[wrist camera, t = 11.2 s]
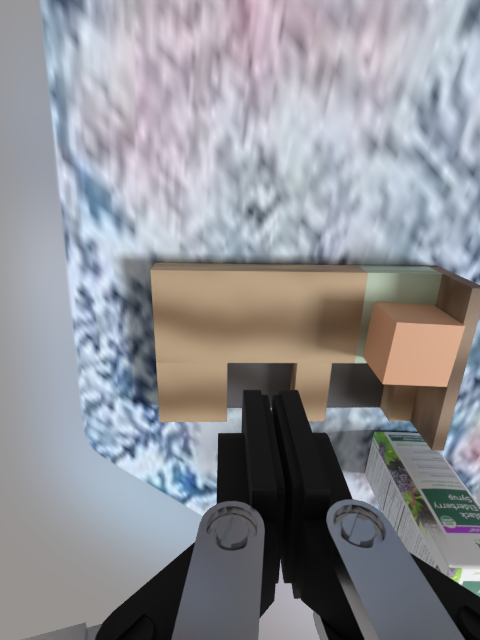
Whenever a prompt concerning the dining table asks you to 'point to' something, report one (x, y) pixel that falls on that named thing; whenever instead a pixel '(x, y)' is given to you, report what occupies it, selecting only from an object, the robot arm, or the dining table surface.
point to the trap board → (296, 338)
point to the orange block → (412, 344)
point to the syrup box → (426, 505)
